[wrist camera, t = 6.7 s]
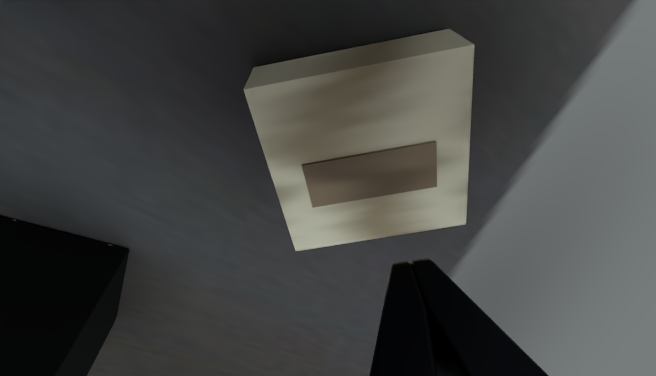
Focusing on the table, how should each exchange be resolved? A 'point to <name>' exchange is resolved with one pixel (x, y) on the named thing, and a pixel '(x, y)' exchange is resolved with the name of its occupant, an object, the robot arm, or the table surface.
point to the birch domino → (368, 137)
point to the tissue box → (55, 299)
